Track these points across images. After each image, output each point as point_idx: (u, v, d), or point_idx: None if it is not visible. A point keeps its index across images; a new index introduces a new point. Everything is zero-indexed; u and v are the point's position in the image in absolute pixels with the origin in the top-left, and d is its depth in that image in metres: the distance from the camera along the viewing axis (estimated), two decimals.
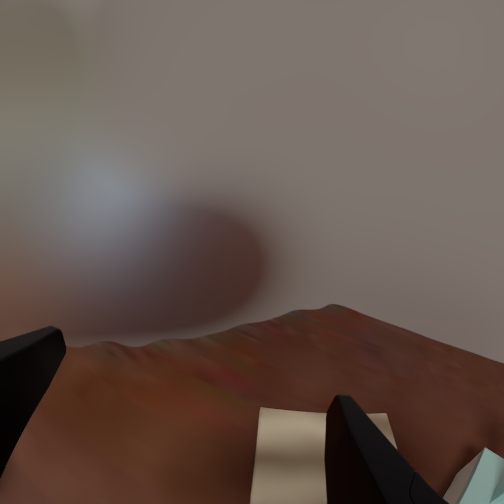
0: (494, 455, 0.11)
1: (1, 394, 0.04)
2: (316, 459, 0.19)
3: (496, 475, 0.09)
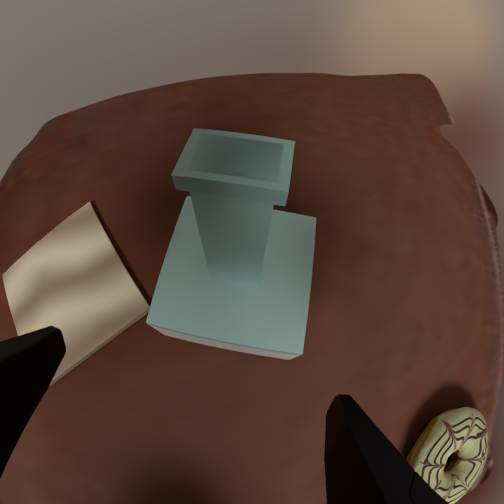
0: None
1: (1, 394, 0.04)
2: (44, 290, 0.21)
3: None
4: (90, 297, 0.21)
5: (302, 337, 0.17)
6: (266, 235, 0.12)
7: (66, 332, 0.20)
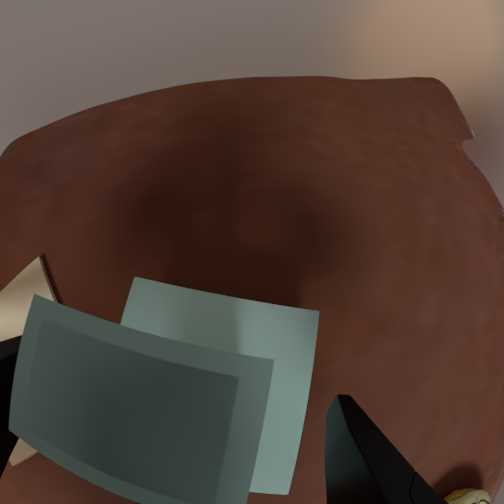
0: (160, 287, 0.14)
1: (1, 394, 0.04)
2: None
3: (170, 335, 0.13)
4: None
5: (289, 477, 0.10)
6: None
7: None
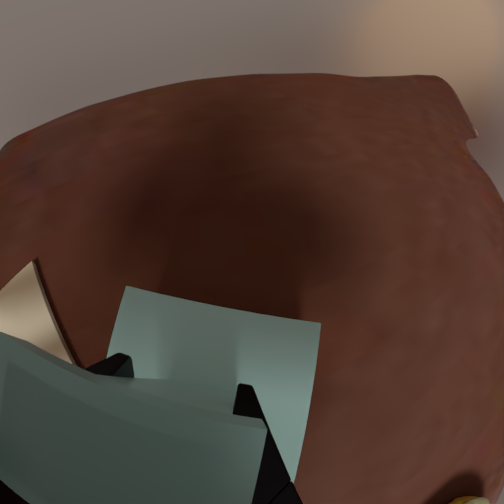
0: (152, 297, 0.13)
1: None
2: None
3: (163, 348, 0.12)
4: None
5: None
6: None
7: None
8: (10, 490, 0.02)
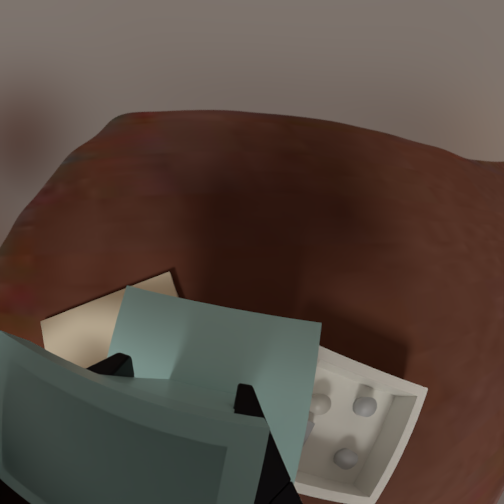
0: (153, 297, 0.13)
1: None
2: None
3: (164, 348, 0.12)
4: None
5: None
6: None
7: None
8: (10, 490, 0.02)
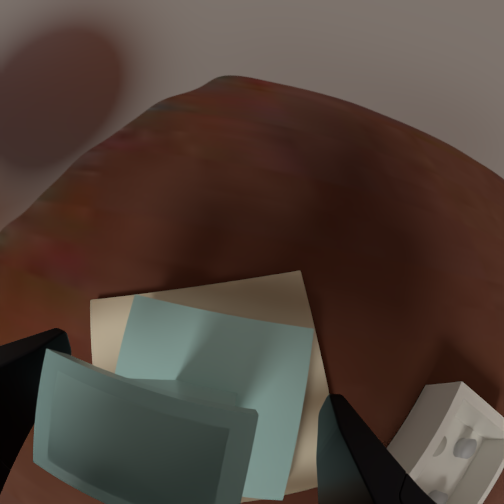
0: (159, 305, 0.14)
1: (6, 398, 0.04)
2: None
3: (170, 351, 0.13)
4: None
5: (284, 484, 0.10)
6: None
7: None
8: None
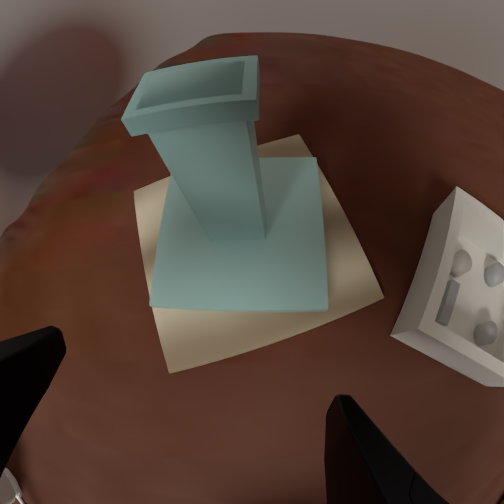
0: None
1: (1, 394, 0.04)
2: None
3: None
4: None
5: (325, 289, 0.15)
6: (252, 170, 0.10)
7: None
8: None
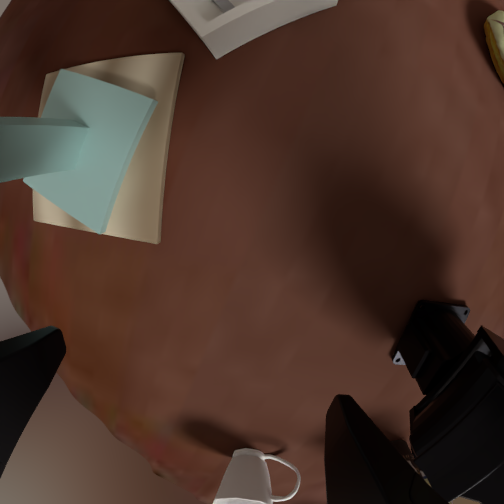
0: None
1: (1, 394, 0.04)
2: None
3: None
4: None
5: (139, 96, 0.14)
6: (21, 126, 0.09)
7: None
8: None
